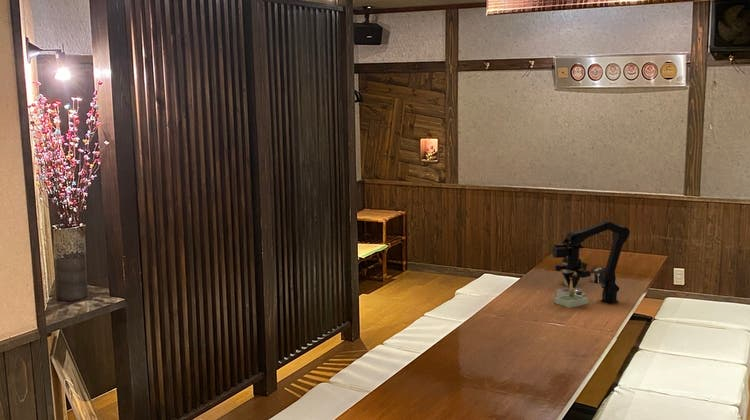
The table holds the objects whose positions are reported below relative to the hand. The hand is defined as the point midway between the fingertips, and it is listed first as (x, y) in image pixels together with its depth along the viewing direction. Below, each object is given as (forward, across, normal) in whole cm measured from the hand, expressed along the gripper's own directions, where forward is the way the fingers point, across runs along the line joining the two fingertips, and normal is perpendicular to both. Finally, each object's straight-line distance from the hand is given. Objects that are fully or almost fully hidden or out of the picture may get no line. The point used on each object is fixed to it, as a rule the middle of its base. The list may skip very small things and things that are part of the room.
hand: (572, 287), depth 362 cm
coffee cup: (+9, +26, -27) cm, 38 cm away
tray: (+8, 0, 0) cm, 8 cm away
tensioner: (+8, +10, -11) cm, 17 cm away
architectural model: (+9, +24, -46) cm, 53 cm away
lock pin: (+4, 0, 0) cm, 5 cm away
